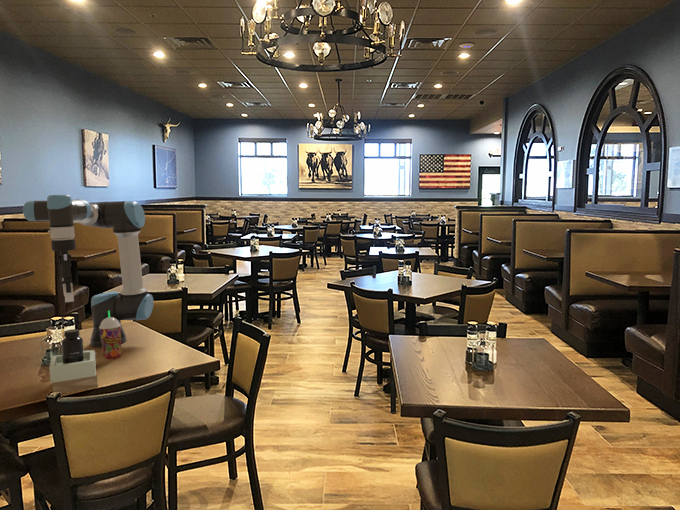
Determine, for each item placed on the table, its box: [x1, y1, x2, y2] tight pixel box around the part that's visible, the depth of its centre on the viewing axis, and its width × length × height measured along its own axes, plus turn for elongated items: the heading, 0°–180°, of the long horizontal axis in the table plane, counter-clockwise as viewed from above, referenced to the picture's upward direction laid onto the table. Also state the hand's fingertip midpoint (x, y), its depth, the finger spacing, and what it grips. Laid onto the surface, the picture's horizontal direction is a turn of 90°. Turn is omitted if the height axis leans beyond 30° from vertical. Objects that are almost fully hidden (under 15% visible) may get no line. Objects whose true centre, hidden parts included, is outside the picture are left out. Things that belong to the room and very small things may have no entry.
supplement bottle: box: [61, 328, 84, 364], centre depth 186 cm, size 7×7×12 cm
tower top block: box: [48, 349, 97, 384], centre depth 187 cm, size 14×14×6 cm
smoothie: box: [99, 311, 122, 360], centre depth 217 cm, size 8×8×20 cm
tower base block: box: [51, 372, 99, 394], centre depth 188 cm, size 14×14×5 cm
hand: (68, 298), depth 185 cm, fingers open, 13 cm apart
